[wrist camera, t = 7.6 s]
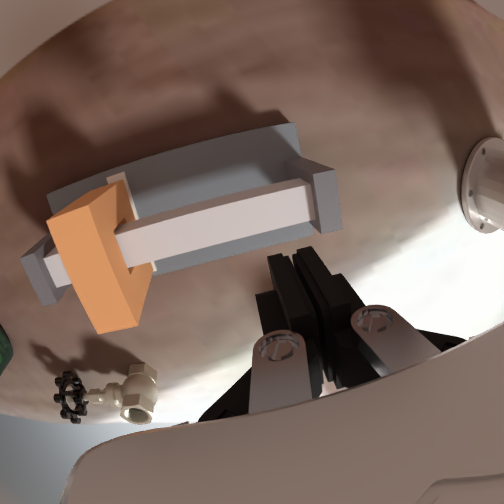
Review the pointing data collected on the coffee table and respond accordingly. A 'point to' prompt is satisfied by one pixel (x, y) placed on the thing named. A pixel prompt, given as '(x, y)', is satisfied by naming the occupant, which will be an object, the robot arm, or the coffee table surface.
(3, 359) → the coffee jar
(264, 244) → the slider rail fixture
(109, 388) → the valve
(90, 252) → the orange rectangular prism
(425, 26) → the coffee table surface
